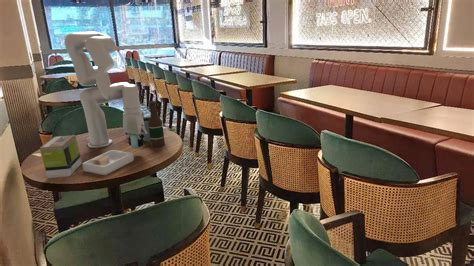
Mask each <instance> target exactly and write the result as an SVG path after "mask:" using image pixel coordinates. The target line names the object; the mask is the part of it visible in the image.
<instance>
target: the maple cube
mask: <svg viewBox="0 0 474 266" xmlns="http://www.w3.org/2000/svg"><path fill="white" fill-rule="evenodd" d="M97 156H98V157H97ZM97 156H95V157H96V158H95V157H93V158H94V159H92V158H91V159H92V163H93V164H95V165H101V166H106V165H108V164H110V162H109V157H107V156H99V155H97Z"/></svg>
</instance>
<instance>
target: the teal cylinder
mask: <svg viewBox="0 0 474 266" xmlns="http://www.w3.org/2000/svg"><path fill="white" fill-rule="evenodd" d="M140 136H141V135H140ZM130 139H131V146H130V147H131V149H133V150H134V149H135V150H136V149H141V148H142V147H143V146H141V147H138V136H137V135H136V134H130Z"/></svg>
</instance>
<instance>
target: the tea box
mask: <svg viewBox="0 0 474 266" xmlns="http://www.w3.org/2000/svg"><path fill="white" fill-rule="evenodd" d="M39 150H40V154H41V158H42V161H43V166H44V169H45V174H46V177H47V178H48V179H53V178H54V179H55V178H65V177H70V176H72V174H73V173H74V172H75V171H76V170H77V169H78V168H79V167H80V166H81V165H82V163H83V162H82V161H83V160H82V157H81V153H80V149H79V145H78V139H77V137H76V134H72V135H61V136H53V137H52V138H51V139H50V140H48V141H47V142H45V143H44V144H43V145H42V146H40V147H39Z"/></svg>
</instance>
